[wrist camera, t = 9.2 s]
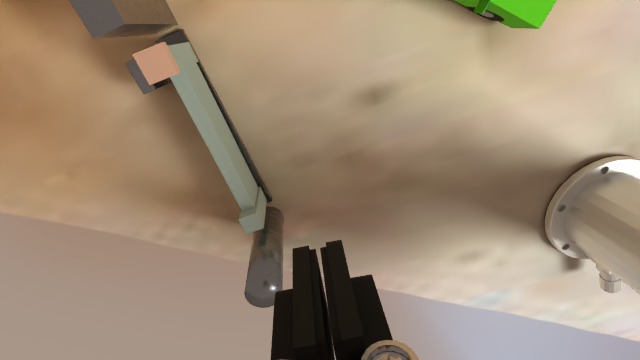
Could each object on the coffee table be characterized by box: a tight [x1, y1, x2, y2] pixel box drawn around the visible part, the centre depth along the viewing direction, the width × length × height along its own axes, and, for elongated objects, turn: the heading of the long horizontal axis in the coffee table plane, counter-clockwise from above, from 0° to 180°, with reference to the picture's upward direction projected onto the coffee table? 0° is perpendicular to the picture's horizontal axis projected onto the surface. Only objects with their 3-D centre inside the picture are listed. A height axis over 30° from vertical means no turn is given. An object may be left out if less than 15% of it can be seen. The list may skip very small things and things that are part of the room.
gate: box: [132, 42, 267, 234], centre depth 28 cm, size 16×2×7 cm, turn 20°
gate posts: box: [69, 0, 283, 308], centre depth 27 cm, size 23×4×11 cm, turn 22°
